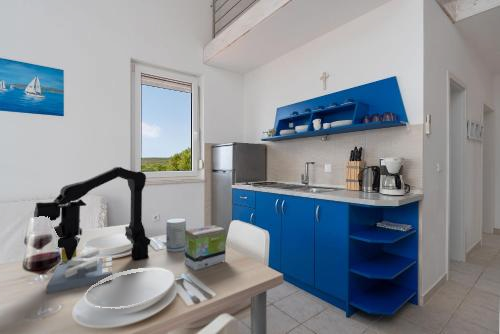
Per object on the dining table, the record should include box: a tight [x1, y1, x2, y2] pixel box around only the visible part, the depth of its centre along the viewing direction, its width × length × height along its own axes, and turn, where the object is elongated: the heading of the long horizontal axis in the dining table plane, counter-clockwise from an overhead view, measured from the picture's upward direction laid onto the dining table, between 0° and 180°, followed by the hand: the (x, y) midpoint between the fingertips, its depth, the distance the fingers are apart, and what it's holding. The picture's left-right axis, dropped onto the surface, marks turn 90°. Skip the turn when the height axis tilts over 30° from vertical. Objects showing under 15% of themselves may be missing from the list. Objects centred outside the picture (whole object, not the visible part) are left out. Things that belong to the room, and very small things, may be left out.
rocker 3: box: [65, 257, 99, 278], centre depth 90 cm, size 10×4×2 cm, turn 120°
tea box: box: [184, 224, 227, 271], centre depth 107 cm, size 15×10×15 cm, turn 131°
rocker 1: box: [74, 248, 101, 258], centre depth 100 cm, size 10×4×2 cm, turn 120°
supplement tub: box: [165, 217, 187, 253], centre depth 124 cm, size 10×10×15 cm
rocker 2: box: [67, 257, 100, 266], centre depth 95 cm, size 10×4×2 cm, turn 120°
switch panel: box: [46, 256, 113, 294], centre depth 95 cm, size 19×19×6 cm
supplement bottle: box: [60, 248, 78, 265], centre depth 109 cm, size 5×5×10 cm
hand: (69, 259), depth 93 cm, fingers closed, pressing on rocker 2
